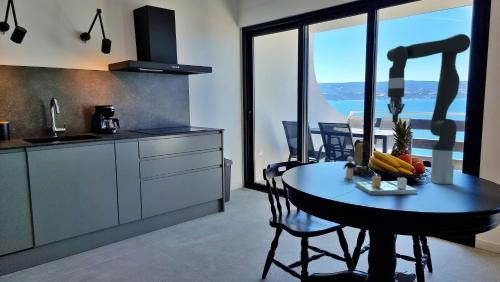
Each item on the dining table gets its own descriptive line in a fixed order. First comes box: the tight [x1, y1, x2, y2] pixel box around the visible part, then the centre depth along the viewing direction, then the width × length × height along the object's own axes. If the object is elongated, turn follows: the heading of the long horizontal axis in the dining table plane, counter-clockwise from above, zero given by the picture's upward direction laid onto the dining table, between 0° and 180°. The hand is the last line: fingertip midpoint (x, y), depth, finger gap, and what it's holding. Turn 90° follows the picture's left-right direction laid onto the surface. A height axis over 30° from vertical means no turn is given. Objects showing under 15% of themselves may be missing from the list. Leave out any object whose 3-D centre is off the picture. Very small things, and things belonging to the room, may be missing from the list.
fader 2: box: [396, 177, 408, 189], centre depth 152 cm, size 3×3×5 cm
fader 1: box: [371, 175, 382, 187], centre depth 156 cm, size 3×3×5 cm
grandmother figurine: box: [343, 156, 358, 181], centre depth 181 cm, size 8×4×13 cm, turn 62°
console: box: [355, 180, 418, 196], centre depth 158 cm, size 22×17×2 cm
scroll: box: [353, 139, 375, 177], centre depth 194 cm, size 15×15×20 cm
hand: (395, 122), depth 167 cm, fingers closed
